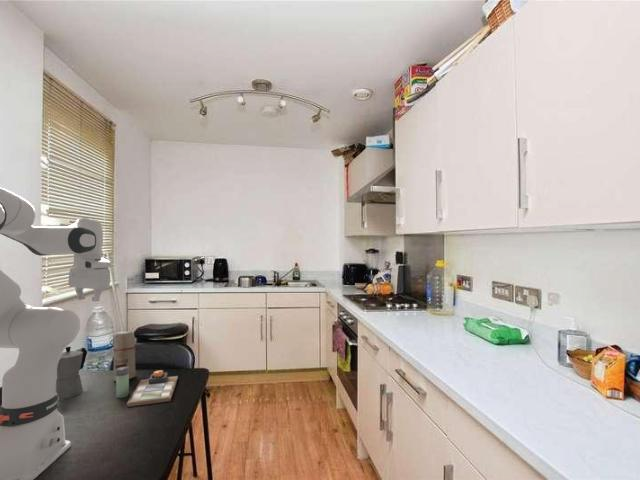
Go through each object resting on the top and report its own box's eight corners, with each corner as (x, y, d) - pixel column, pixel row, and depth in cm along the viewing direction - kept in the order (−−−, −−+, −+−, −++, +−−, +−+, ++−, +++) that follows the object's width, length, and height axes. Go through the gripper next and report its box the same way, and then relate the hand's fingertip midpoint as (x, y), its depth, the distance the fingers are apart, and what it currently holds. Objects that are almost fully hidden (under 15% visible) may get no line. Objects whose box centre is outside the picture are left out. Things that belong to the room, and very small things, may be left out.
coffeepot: (64, 402, 120) (64, 352, 121) (40, 401, 121) (40, 351, 122) (97, 385, 135) (97, 340, 136) (75, 384, 136) (75, 340, 137)
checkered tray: (170, 401, 120) (170, 391, 120) (126, 406, 116) (126, 397, 116) (177, 378, 141) (177, 371, 141) (141, 383, 137) (141, 375, 137)
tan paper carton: (108, 381, 140) (108, 333, 140) (124, 374, 148) (124, 328, 148) (123, 383, 137) (124, 334, 138) (140, 375, 145) (140, 329, 146)
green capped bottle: (127, 397, 124) (127, 369, 124) (114, 398, 123) (114, 371, 123) (130, 392, 128) (130, 366, 128) (117, 394, 127) (117, 367, 127)
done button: (162, 377, 135) (162, 372, 135) (152, 379, 134) (152, 373, 134) (163, 374, 138) (163, 369, 138) (154, 375, 137) (154, 370, 137)
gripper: (63, 262, 125) (63, 299, 125) (95, 263, 116) (95, 303, 115) (81, 261, 130) (81, 297, 130) (113, 262, 121) (113, 301, 121)
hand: (88, 300), depth 123 cm, fingers open, 8 cm apart
